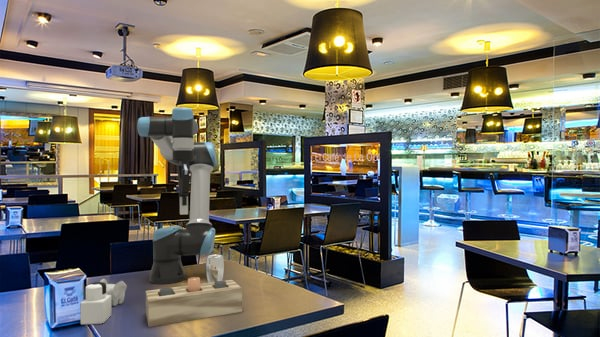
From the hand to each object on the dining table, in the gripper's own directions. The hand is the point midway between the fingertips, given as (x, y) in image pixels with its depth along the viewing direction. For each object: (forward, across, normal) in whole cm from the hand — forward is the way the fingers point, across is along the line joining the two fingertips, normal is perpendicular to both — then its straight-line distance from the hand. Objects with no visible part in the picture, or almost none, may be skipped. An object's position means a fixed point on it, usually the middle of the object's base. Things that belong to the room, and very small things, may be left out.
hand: (184, 214), depth 149 cm
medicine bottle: (+33, +5, -29) cm, 44 cm away
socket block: (+32, +13, +1) cm, 35 cm away
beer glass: (+33, -4, +12) cm, 35 cm away
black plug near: (+31, +13, -8) cm, 35 cm away
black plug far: (+31, +13, +10) cm, 35 cm away
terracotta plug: (+29, +13, +1) cm, 31 cm away
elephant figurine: (+33, -10, -25) cm, 42 cm away
